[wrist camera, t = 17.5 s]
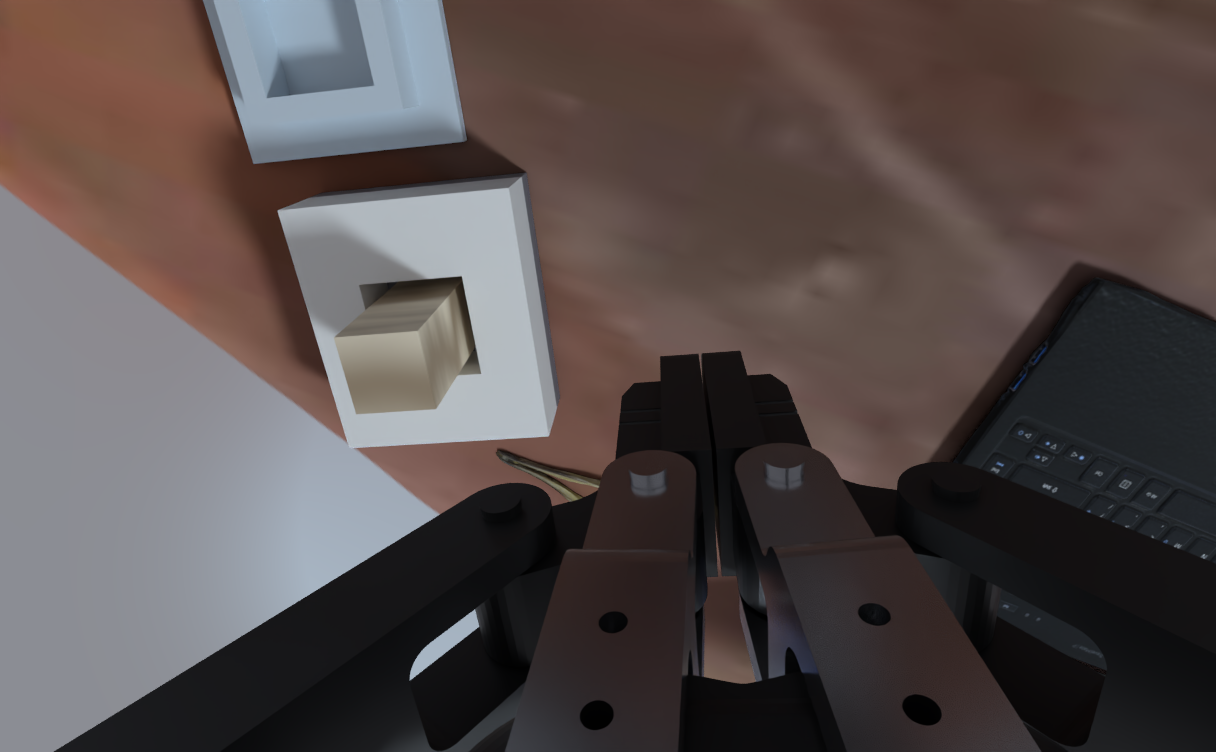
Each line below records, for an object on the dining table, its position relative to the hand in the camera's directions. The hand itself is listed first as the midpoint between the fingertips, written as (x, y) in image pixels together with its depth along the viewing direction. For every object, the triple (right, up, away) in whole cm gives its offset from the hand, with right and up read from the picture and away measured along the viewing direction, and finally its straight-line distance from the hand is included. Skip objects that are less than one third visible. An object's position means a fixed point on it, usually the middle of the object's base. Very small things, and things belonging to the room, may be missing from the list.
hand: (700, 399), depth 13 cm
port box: (-11, +5, +28) cm, 31 cm away
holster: (-16, +18, +22) cm, 33 cm away
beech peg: (-12, +4, +27) cm, 30 cm away
